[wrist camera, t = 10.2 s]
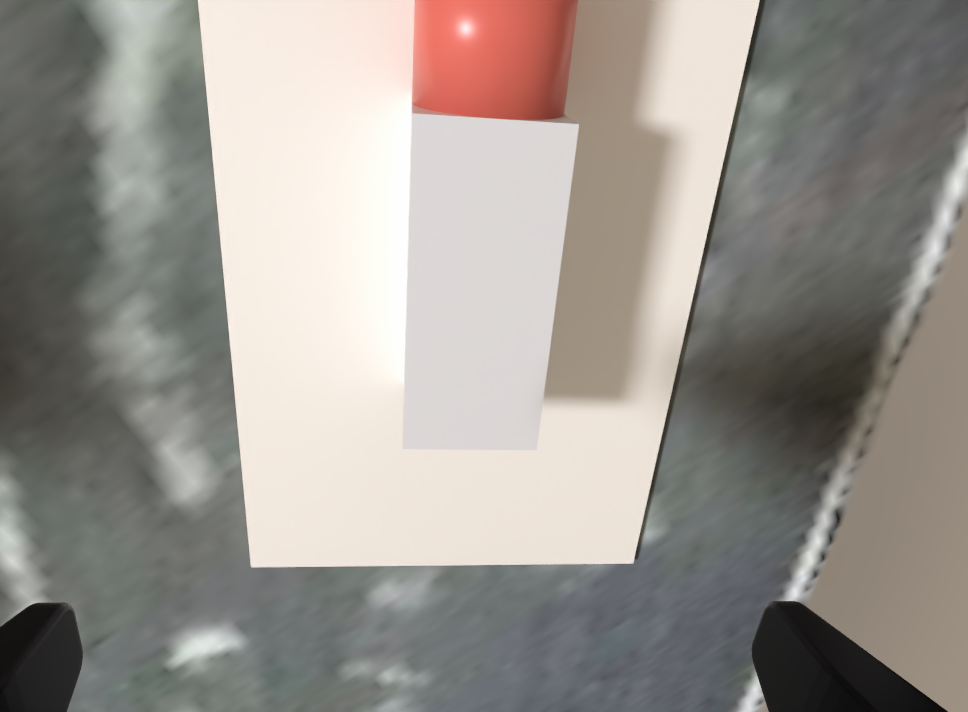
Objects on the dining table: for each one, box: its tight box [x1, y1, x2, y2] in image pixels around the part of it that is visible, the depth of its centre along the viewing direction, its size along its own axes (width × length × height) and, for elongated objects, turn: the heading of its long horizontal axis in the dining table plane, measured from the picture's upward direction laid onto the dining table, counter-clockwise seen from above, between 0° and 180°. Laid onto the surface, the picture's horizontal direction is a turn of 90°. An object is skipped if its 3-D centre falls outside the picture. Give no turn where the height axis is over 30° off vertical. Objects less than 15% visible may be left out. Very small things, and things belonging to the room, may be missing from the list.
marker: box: [403, 0, 579, 450], centre depth 17 cm, size 11×3×3 cm, turn 176°
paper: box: [198, 0, 760, 567], centre depth 20 cm, size 18×13×1 cm
